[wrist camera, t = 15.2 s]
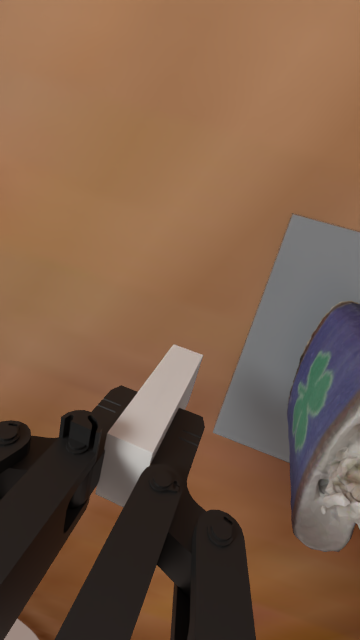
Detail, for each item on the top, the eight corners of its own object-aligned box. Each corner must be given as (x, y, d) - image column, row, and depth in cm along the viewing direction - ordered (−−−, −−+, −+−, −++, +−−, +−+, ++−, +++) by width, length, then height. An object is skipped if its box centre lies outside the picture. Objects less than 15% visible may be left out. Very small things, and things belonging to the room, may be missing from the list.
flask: (317, 431, 22) (344, 612, 13) (274, 415, 23) (269, 578, 13) (382, 306, 19) (488, 428, 9) (328, 291, 19) (375, 391, 9)
